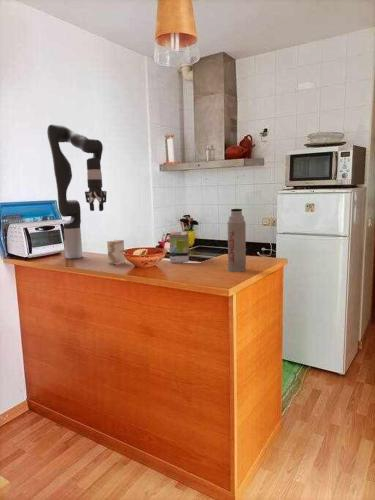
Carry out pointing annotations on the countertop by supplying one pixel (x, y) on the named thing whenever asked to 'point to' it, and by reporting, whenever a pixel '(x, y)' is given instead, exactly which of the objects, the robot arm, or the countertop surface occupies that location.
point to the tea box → (179, 247)
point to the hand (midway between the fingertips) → (96, 210)
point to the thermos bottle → (236, 241)
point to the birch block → (115, 251)
